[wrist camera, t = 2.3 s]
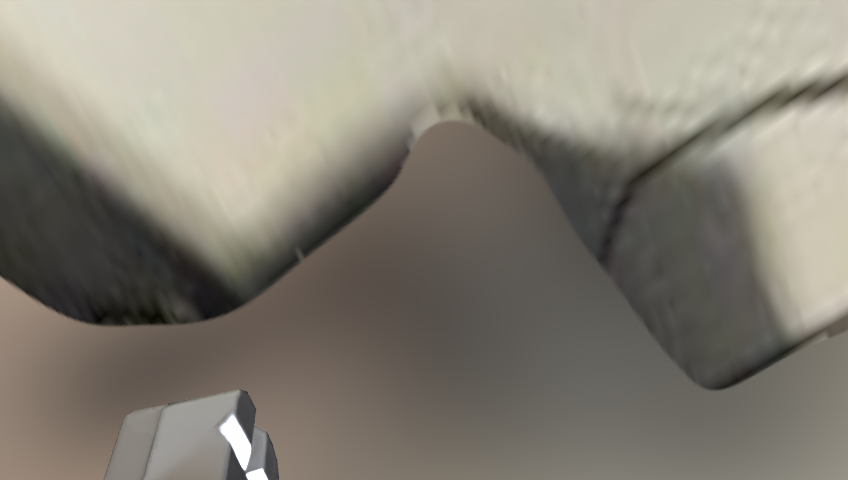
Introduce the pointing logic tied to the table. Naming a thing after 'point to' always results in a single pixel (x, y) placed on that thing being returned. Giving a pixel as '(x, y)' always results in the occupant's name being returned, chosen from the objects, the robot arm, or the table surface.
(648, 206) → the table surface
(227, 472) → the robot arm
